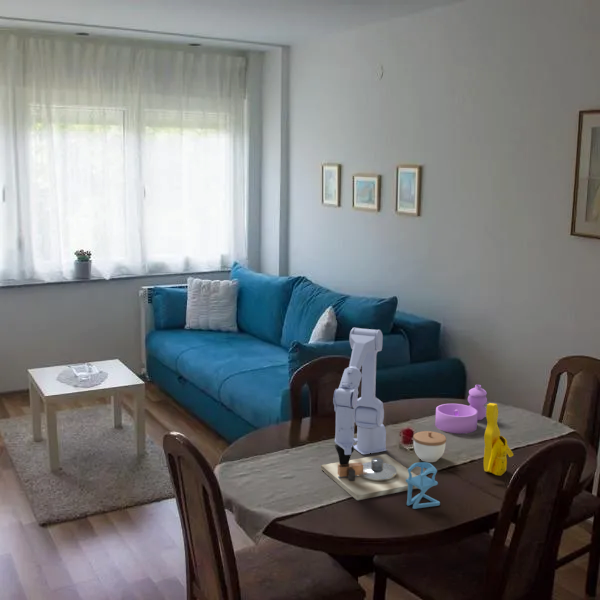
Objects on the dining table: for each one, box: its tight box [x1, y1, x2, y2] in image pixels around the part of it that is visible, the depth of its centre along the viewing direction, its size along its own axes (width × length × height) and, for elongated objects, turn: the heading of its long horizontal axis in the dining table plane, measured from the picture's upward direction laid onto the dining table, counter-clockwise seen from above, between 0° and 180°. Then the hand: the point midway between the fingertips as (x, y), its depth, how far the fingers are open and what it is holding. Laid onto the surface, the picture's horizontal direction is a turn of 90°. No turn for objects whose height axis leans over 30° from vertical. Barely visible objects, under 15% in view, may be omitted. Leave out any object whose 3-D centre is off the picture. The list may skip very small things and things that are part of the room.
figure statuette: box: [483, 402, 514, 476], centre depth 237 cm, size 18×8×22 cm, turn 140°
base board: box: [320, 453, 418, 501], centre depth 233 cm, size 24×24×4 cm
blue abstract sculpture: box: [406, 461, 441, 510], centre depth 215 cm, size 8×8×12 cm
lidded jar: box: [412, 430, 447, 463], centre depth 248 cm, size 11×11×9 cm
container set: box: [434, 384, 488, 434], centre depth 282 cm, size 25×15×13 cm, turn 134°
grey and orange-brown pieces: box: [338, 458, 396, 481], centre depth 231 cm, size 18×12×4 cm, turn 105°
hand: (344, 467), depth 231 cm, fingers closed
